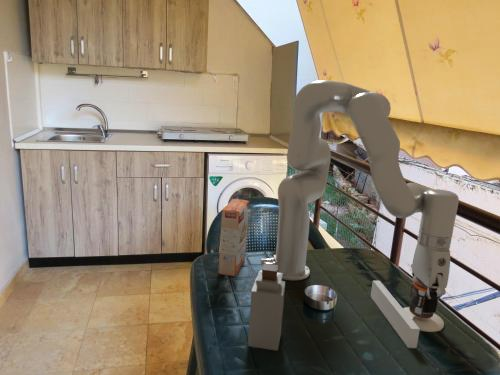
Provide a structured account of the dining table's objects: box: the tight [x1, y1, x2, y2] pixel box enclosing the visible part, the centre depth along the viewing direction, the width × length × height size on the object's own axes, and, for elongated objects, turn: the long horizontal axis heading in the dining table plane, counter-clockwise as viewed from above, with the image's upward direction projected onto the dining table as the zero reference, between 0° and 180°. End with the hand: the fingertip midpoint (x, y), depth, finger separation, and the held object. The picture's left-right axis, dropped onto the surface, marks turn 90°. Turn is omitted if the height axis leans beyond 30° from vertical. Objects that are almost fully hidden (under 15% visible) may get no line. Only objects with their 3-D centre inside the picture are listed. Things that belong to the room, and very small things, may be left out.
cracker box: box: [217, 198, 250, 277], centre depth 129 cm, size 14×6×21 cm, turn 168°
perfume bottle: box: [247, 264, 286, 351], centre depth 93 cm, size 7×7×18 cm
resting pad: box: [402, 306, 445, 333], centre depth 107 cm, size 11×11×1 cm
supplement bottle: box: [408, 278, 436, 318], centre depth 105 cm, size 6×6×11 cm
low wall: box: [370, 280, 420, 349], centre depth 106 cm, size 2×24×5 cm, turn 5°
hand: (422, 304), depth 106 cm, fingers closed on supplement bottle, 6 cm apart
